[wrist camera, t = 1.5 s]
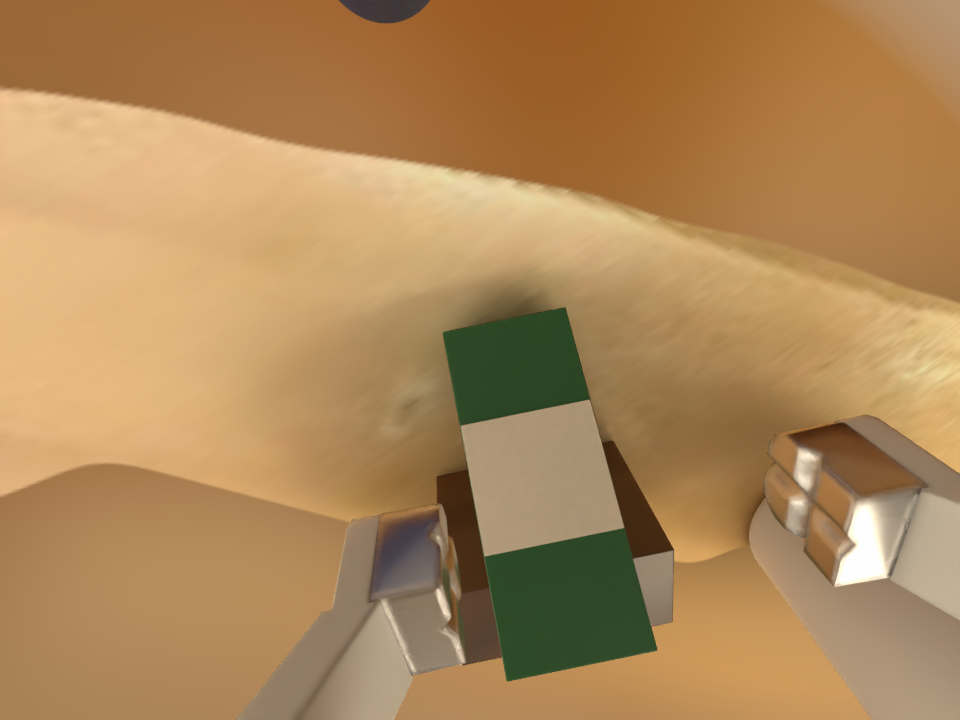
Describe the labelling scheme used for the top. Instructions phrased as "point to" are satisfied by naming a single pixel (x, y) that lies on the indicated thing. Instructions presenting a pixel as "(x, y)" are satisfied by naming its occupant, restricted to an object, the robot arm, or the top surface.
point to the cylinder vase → (867, 630)
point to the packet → (544, 498)
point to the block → (476, 602)
